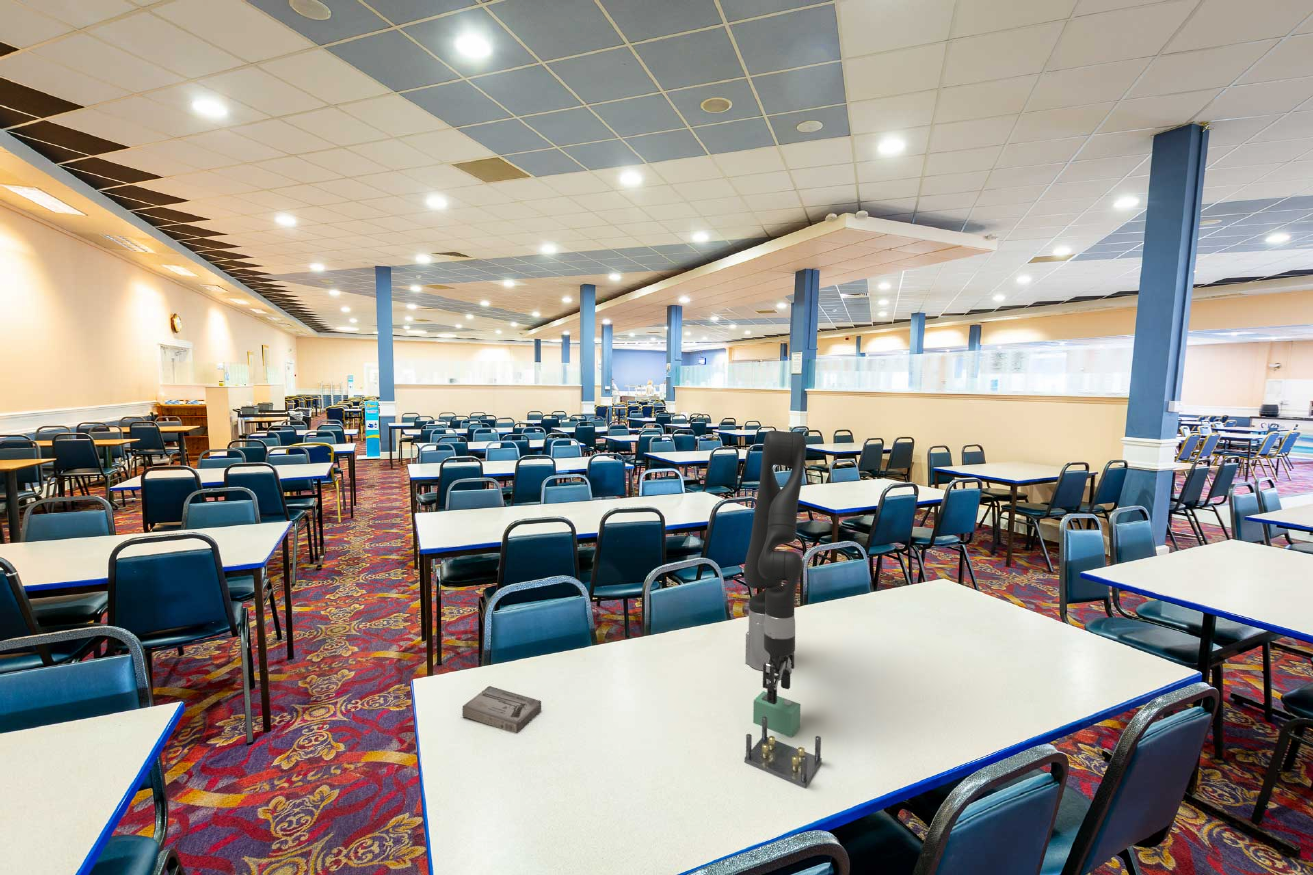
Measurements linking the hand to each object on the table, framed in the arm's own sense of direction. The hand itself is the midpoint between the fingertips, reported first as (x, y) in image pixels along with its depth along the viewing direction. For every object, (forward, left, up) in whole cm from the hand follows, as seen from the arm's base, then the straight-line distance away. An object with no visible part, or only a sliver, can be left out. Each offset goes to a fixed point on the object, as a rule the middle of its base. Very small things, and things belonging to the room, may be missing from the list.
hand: (778, 695), depth 136 cm
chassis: (+6, -12, -8) cm, 16 cm away
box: (-60, -37, -8) cm, 71 cm away
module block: (-1, 0, -8) cm, 8 cm away
